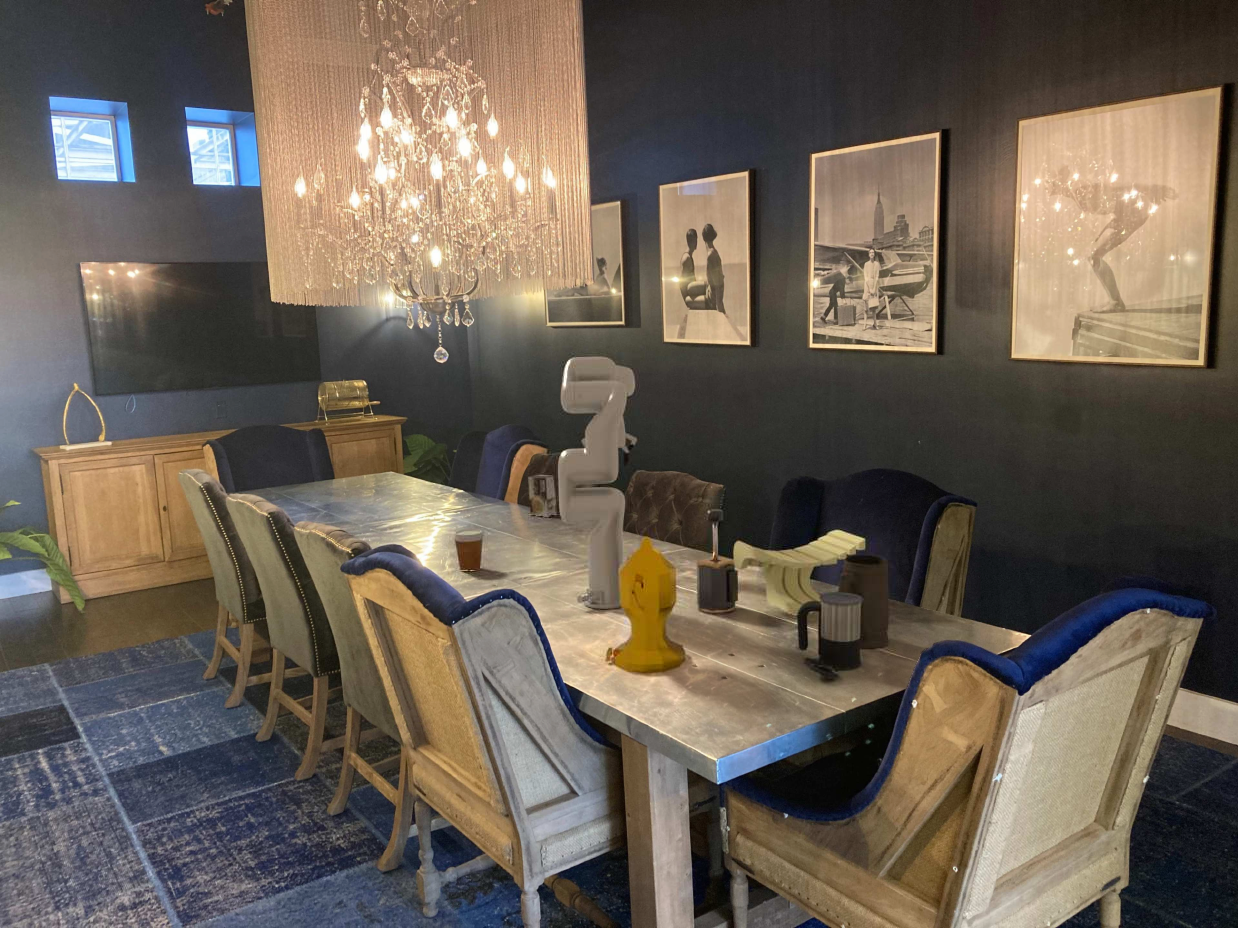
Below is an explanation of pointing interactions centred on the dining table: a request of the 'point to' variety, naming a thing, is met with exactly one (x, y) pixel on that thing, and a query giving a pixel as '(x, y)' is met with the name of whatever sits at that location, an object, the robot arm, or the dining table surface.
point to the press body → (716, 586)
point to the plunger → (715, 529)
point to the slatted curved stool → (796, 566)
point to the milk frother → (833, 632)
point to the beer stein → (869, 596)
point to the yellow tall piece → (647, 612)
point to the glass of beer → (469, 548)
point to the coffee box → (542, 495)
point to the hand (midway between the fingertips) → (609, 465)
